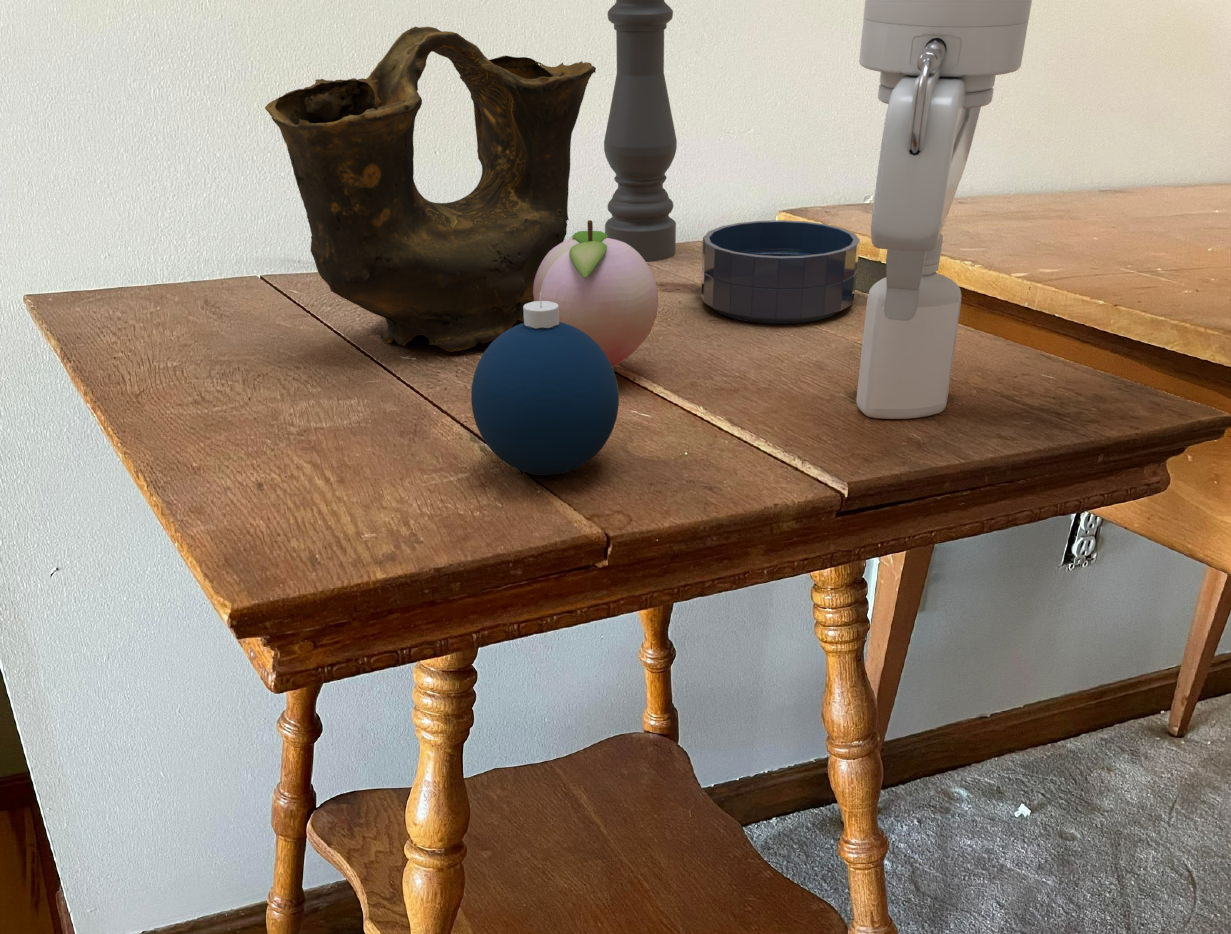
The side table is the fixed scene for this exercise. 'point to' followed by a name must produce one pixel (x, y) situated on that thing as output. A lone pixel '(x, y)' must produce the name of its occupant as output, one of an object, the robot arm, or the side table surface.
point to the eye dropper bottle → (910, 349)
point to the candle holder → (641, 131)
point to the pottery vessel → (426, 231)
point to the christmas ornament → (544, 394)
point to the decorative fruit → (600, 291)
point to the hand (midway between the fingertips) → (907, 295)
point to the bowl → (779, 270)
